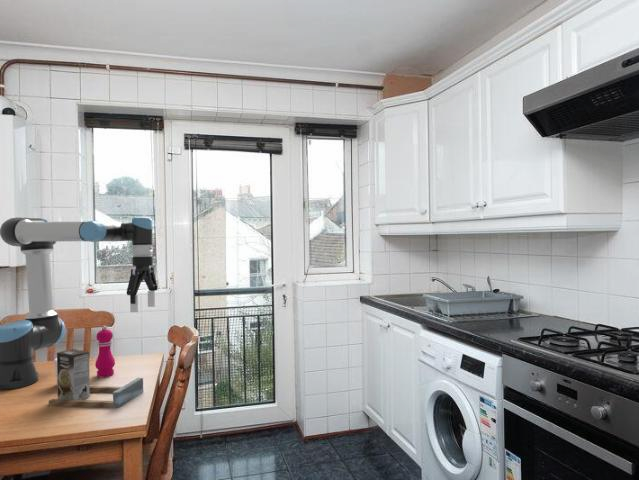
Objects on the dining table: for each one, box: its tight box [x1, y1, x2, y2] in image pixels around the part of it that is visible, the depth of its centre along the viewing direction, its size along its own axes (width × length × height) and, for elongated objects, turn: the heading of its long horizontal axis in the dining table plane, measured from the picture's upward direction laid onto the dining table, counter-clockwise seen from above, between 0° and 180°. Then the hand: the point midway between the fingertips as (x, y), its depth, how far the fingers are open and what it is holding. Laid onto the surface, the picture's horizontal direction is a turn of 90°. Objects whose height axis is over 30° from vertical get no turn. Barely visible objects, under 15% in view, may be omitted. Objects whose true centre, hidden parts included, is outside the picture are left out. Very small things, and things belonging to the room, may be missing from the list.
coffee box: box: [56, 348, 91, 400], centre depth 154 cm, size 9×6×16 cm
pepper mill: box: [94, 325, 116, 378], centre depth 181 cm, size 7×7×20 cm
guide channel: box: [48, 377, 144, 409], centre depth 153 cm, size 25×15×5 cm, turn 83°
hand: (143, 309), depth 176 cm, fingers open, 13 cm apart
